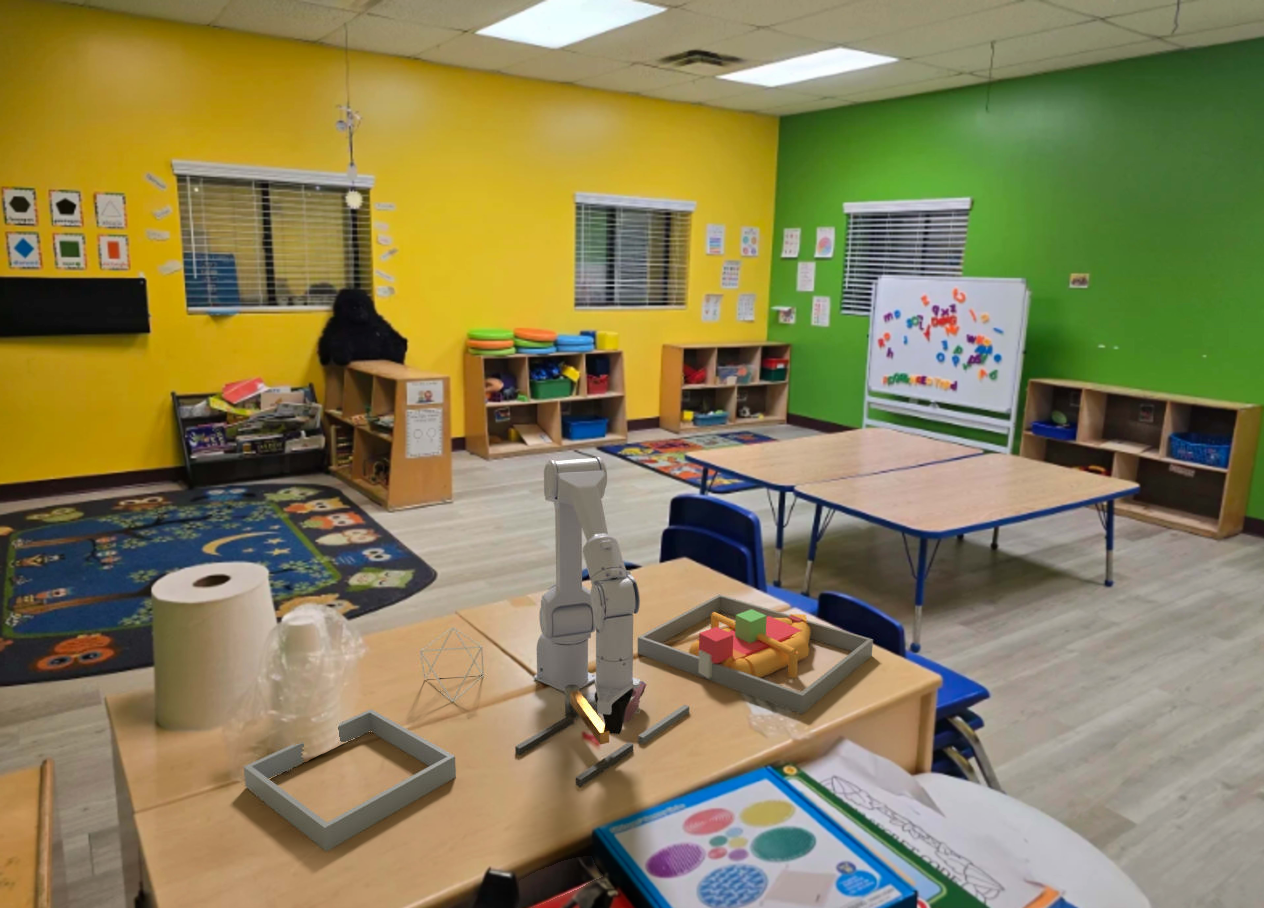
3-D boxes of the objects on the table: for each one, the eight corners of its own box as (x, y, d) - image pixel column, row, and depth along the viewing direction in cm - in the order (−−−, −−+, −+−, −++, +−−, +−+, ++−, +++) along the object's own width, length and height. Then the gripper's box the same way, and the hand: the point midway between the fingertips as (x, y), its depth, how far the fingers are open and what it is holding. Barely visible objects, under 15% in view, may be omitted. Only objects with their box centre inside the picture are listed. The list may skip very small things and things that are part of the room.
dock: (515, 752, 133) (515, 746, 133) (627, 687, 155) (627, 681, 154) (580, 786, 125) (580, 779, 125) (689, 712, 146) (689, 706, 146)
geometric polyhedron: (483, 700, 150) (482, 653, 148) (420, 704, 148) (418, 657, 146) (483, 668, 162) (482, 624, 160) (425, 672, 160) (424, 627, 158)
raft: (846, 653, 169) (849, 612, 167) (742, 702, 151) (743, 656, 148) (762, 616, 186) (764, 578, 184) (659, 656, 168) (660, 614, 166)
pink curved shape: (624, 738, 141) (643, 706, 139) (601, 725, 141) (619, 692, 139) (636, 709, 150) (654, 679, 148) (613, 696, 151) (631, 666, 149)
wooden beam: (563, 712, 145) (563, 685, 144) (576, 710, 146) (576, 683, 145) (597, 762, 130) (597, 733, 129) (611, 759, 131) (612, 729, 130)
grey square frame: (245, 787, 124) (243, 766, 123) (372, 727, 140) (371, 708, 140) (326, 851, 111) (324, 827, 110) (455, 776, 127) (455, 755, 126)
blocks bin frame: (637, 653, 169) (637, 637, 168) (718, 608, 191) (719, 594, 190) (801, 713, 146) (802, 695, 145) (871, 655, 169) (873, 639, 168)
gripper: (630, 677, 122) (629, 761, 125) (648, 635, 136) (647, 711, 139) (583, 672, 123) (583, 755, 126) (605, 631, 137) (605, 707, 140)
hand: (613, 732), depth 132 cm, fingers closed
